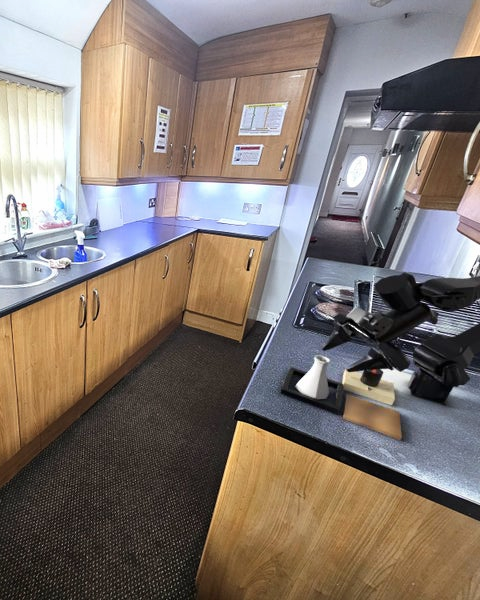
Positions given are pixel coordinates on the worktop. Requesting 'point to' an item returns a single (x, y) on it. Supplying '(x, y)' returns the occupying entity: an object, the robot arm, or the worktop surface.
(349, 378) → the cream flat block
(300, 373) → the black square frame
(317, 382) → the flask
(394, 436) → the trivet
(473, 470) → the worktop surface
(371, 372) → the knob
